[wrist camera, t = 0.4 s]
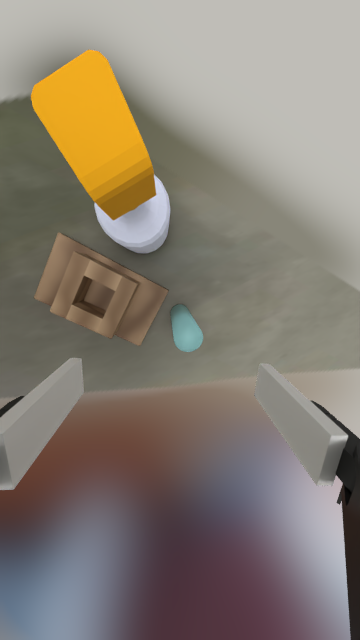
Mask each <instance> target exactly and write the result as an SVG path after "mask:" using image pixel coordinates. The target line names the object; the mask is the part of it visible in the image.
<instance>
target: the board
mask: <svg viewBox="0 0 360 640" xmlns="http://www.w3.org/2000/svg"><path fill="white" fill-rule="evenodd" d="M168 291H169V290H167V289H166V288H164V287H162V286H160V285H158V284H156V283H154V282H152V281H150V280H149V279H147V278H145V277H143V276H141V275H139V274H137V273H135V272H133V271H132V270H130V269H128V268H126V267H124V266H122V265H120V264H118V263H116V262H115V261H113V260H111V259H109V258H107V257H105V256H103V255H101V254H99V253H98V252H96V251H94V250H92V249H90V248H88V247H86V246H84V245H82V244H80V243H79V242H77V241H75V240H73V239H71V238H69V237H67V236H65V235H63V234H61V233H59V232H58V235H57V237H56V240H55V243H54V245H53V248H52V251H51V253H50V256H49V259H48V261H47V264H46V267H45V269H44V272H43V275H42V277H41V280H40V283H39V285H38V288H37V291H36V293H35V296H34V299H37V300H39V301H41V302H43V303H46V304H48V305H50V306H52V307H51V309H50V312H52V313H54V314H56V315H59V316H61V317H63V318H65V319H68V320H70V321H72V322H74V323H77V324H79V325H81V326H83V327H85V328H88V329H90V330H92V331H94V332H97V333H99V334H101V335H103V336H106V337H108V338H110V339H111V338H112V337H113V336H114V335H116V336H118V337H121V338H123V339H125V340H127V341H129V342H132V343H134V344H136V345H138V346H140V345H141V343H142V341H143V339H144V337H145V335H146V333H147V331H148V330H149V328H150V326H151V324H152V322H153V320H154V318H155V316H156V314H157V312H158V310H159V308H160V306H161V304H162V302H163V301H164V299H165V297H166V295H167V293H168Z"/></svg>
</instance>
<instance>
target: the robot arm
mask: <svg viewBox="0 0 360 640" xmlns="http://www.w3.org/2000/svg"><path fill="white" fill-rule="evenodd" d="M83 393H84V387H83V373H82V358H70V359H69V360H67V361H66V362H65V363H64V364H63V365H61V366H60V367H59V368H58V369H57V370H56V371H54V372H53V373H52V374H51V375H50V376H49V377H47V378H46V379H45V380H44V381H43V382H41V383H40V384H39V385H38V386H37V387H36V388H34V389H33V390H32V391H31V392H30V393H29V394H27V395H26V396H20V397H18V398H16V399H14V400H13V401H11V402H9V403H8V404H7V405H5V406H4V407H3V408H1V409H0V490H11V489H14V488H15V487H16V485H17V484H18V483H19V481H20V480H21V478H22V477H23V476H24V474H25V473H26V472H27V470H28V469H29V467H30V466H31V464H32V463H33V462H34V460H35V459H36V458H37V456H38V455H39V454H40V452H41V451H42V449H43V448H44V447H45V445H46V444H47V442H48V441H49V440H50V438H51V437H52V435H53V434H54V433H55V431H56V430H57V429H58V427H59V426H60V424H61V423H62V422H63V420H64V419H65V418H66V416H67V415H68V413H69V412H70V411H71V409H72V408H73V406H74V405H75V403H76V402H77V401H78V400H79V398H80V397H81V395H82V394H83ZM254 396H255V397H256V399H257V400H258V401H259V403H260V404H261V406H262V407H263V409H264V410H265V412H266V413H267V415H268V416H269V417H270V419H271V420H272V422H273V423H274V425H275V426H276V428H277V429H278V430H279V432H280V433H281V435H282V436H283V438H284V439H285V440H286V442H287V443H288V445H289V446H290V448H291V449H292V450H293V452H294V454H295V455H296V456H297V458H298V459H299V461H300V462H301V464H302V465H303V467H304V468H305V469H306V471H307V472H308V474H309V475H310V477H311V478H312V480H313V481H314V482H315V484H316V485H317V486H323V485H324V486H326V485H327V486H328V485H333V483H334V479H335V476H336V475H337V476H338V478H339V479H340V480H341V481H342V482H343V485H342V488H341V491H340V494H339V497H338V500H337V503H338V504H340V503H341V501H342V510H343V511H342V512H343V527H344V542H345V558H346V573H347V588H348V603H349V619H350V634H351V640H360V439H359V438H358V437H357V436H356V435H355V434H353V433H352V432H351V431H350V430H349V429H348V428H346V427H345V426H344V425H343V424H342V423H341V422H340V421H338V420H337V419H336V418H335V417H334V416H333V415H331V414H330V413H329V412H328V411H327V410H326V409H325V408H324V407H322V406H321V405H319V404H317V403H316V402H314V401H310V400H309V399H307V398H306V397H305V396H304V395H303V394H302V393H301V392H300V391H299V390H298V389H296V388H295V387H294V386H293V385H292V384H291V383H290V382H289V381H288V380H287V379H286V378H284V377H283V376H282V375H281V374H280V373H279V372H278V371H277V370H276V369H275V368H273V367H272V366H271V365H270V364H259V370H258V376H257V382H256V388H255V393H254Z"/></svg>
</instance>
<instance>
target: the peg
mask: <svg viewBox="0 0 360 640" xmlns="http://www.w3.org/2000/svg"><path fill="white" fill-rule="evenodd" d="M170 315H171V322H172V329H173V337H174V342H175V345H176V346H177V348H179V349H180V350H182V351H185V352H191V351H194V350H196V349H197V348H199V347H200V345H201V344H202V341H203V334H202V331H201V330H200V328H199V326H198V325H197V323H196V322H195V320H194V318H193V317H192V315H191V313H190V312H189V310H188V308H187V307H186V306H184V305H181V304H178V305H175V306H174V307H173V308H172V309H171V312H170Z"/></svg>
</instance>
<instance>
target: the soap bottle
mask: <svg viewBox="0 0 360 640" xmlns="http://www.w3.org/2000/svg"><path fill="white" fill-rule="evenodd" d="M31 100H32V104H33V109H34V110H35V112H36V113H37V115H38V116H39V118H40V119H41V121H42V123H43V124H44V126H45V127H46V129H47V130H48V132H49V134H50V135H51V137H52V138H53V140H54V141H55V143H56V144H57V146H58V148H59V149H60V151H61V152H62V154H63V155H64V157H65V159H66V160H67V162H68V163H69V165H70V166H71V168H72V169H73V171H74V173H75V174H76V176H77V177H78V179H79V180H80V182H81V183H82V185H83V186H84V188H85V189H86V191H87V192H88V194H89V195H90V196H91V198H92V199H93V200H94V202H95V205H94V206H95V211H96V215H97V219H98V221H99V223H100V225H101V226H102V228H103V230H104V231H105V233H106V234H107V235H108V236H110V237H111V238H112V239H113V240H114V241H115V242H117V243H119V244H120V245H122V246H124V247H125V248H127V249H129V250H131V251H134V252H136V253H150V252H153V251H155V250H157V249H158V248H159V247H160V246H161V245H162V244H163V243H164V241H165V239H166V237H167V234H168V228H169V219H170V204H169V197H168V194H167V192H166V190H165V188H164V186H163V184H162V182H161V181H160V180H159V179H158V178H157V177H156V176H155V175H154V171H153V167H152V163H151V160H150V158H149V155H148V152H147V150H146V147H145V145H144V142H143V140H142V138H141V135H140V133H139V131H138V128H137V126H136V124H135V122H134V120H133V117H132V115H131V112H130V110H129V108H128V106H127V103H126V101H125V99H124V96H123V95H122V92H121V90H120V88H119V85H118V83H117V81H116V78H115V76H114V74H113V71H112V69H111V67H110V65H109V62H108V60H107V59H106V58H105V57H104V56H103V55H102V54H101V53H100V52H98V51H93V50H87V51H86V52H84V53H83V54H81V55H80V56H78V57H77V58H75V59H74V60H72V61H71V62H69V63H68V64H66V65H65V66H63V67H62V68H60V69H59V70H57V71H56V72H54V73H52V74H51V75H49V76H48V77H46V78H45V79H43V80H42V81H40V82H39V83H37V84H36V85H34V88H33V91H32V94H31Z"/></svg>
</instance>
